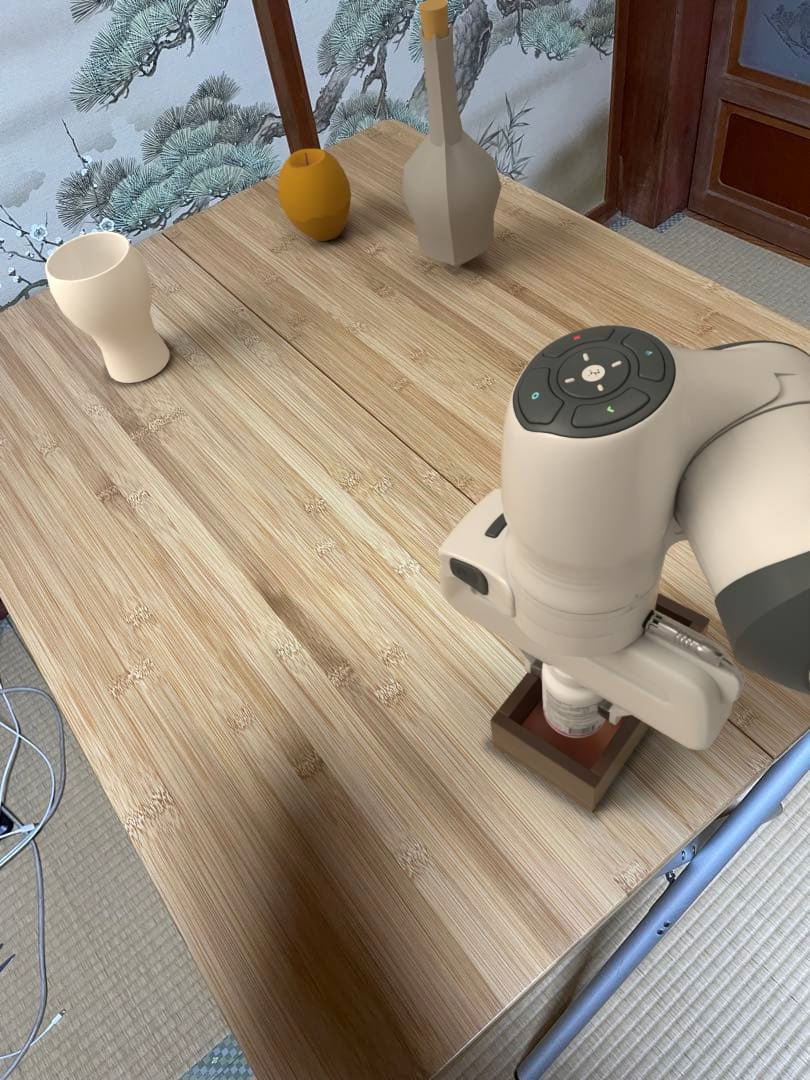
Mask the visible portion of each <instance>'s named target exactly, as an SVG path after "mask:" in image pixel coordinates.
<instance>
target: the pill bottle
mask: <svg viewBox="0 0 810 1080" xmlns="http://www.w3.org/2000/svg"><path fill="white" fill-rule="evenodd" d="M542 692H543V711H544V716H545V718H546V720H547V722H548V723H549V725H550V726H551V727H552V728H553V729H554V730H555V731H557V732H558V733H560V734H562V735H564V736H567V737H571V738H583V737H587V736H590V735H592V734H594V733H595V732H597V731H598V730H599V729H600V728H601V727H602V725H603V724H604V722H605V720H606V719H605V718H603V717H601V716H600V715H598V714H597V712H598V704H599V703H600V702H601V701H602V700H603V699H604V698H602V697H601V696H599V695H597V694H596V693H594V692H592V691H591V690H589V689H587V688H586V687H584V686H582V685H580V684H579V683H577V682H576V681H575V680H574V679H573V678H572V677H570V676H568V675H567V674H565V673H563V672H562V671H560V670H558V669H557V668H555V667H553V666H548V665H547V664H545V663H543V666H542Z"/></svg>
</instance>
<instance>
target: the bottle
mask: <svg viewBox="0 0 810 1080" xmlns="http://www.w3.org/2000/svg"><path fill="white" fill-rule="evenodd" d="M418 9H419V14H420V22H421V27H418V32H419V40H420V45H421V52H422V58H423V68H424V76H425V85H426V95H427V105H428V106H427V107H428V125H427V126H428V129H427V131H428V132H427V135H426V136H425V137H424V138H423V140H422V141H421V143H420V144H419V145H418V146H417V148H416V149H415V151H414V152H413V153H412V155H411V156H410V158H409V159H408V161H407V162H406V163H405V165H404V166H403V177H402V186H401V187H402V188H401V197H402V199H403V201H404V203H405V205H406V207H407V209H408V212H409V213H410V216H411V218H412V220H413V223H414V227H415V232H416V237H417V242H418V247H419V248H420V249H421V250H422V252H423V253H424V254H425V255H426V257H429V258H430V259H432V260H433V261H438V262H440V263H444V264H447V265H451V266H453V267H454V268H455V269H459V268H460V267H461V266H462V265H464V264H466V263H469V262H470V261H471V260H473V259H475V258H476V257H478V256H479V255H481V254H482V253H484V252H485V251H486V250H487V248H489V246H490V245H491V244H492V243H493V242H494V240H495V239H494V238H495V237H494V234H495V233H494V231H495V227H494V226H495V224H494V223H495V212H496V208H497V205H498V202H499V199H500V193H501V190H502V186H503V185H502V183H501V179H500V176H499V173H498V169H497V166H496V162H495V159H494V157H493V156H492V155H491V154H489V153H488V151H486V150H485V149H484V148H483V147H482V146H481V145H480V144H479V143H478V142H477V141H476V140H474V139H473V137H472V136H470V135H469V134H468V133H467V132H466V131H465V130H464V129H463V123H462V120H461V114H460V109H459V104H458V102H459V101H458V92H457V90H458V89H457V79H456V68H455V55H454V54H455V53H454V24H449V2H448V0H425V1H422V2H421V3H420V4H419V5H418Z"/></svg>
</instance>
